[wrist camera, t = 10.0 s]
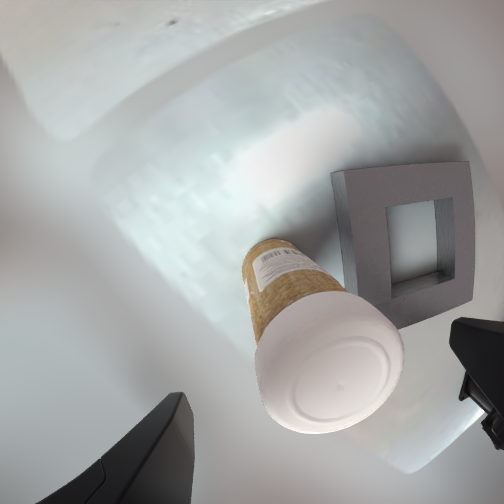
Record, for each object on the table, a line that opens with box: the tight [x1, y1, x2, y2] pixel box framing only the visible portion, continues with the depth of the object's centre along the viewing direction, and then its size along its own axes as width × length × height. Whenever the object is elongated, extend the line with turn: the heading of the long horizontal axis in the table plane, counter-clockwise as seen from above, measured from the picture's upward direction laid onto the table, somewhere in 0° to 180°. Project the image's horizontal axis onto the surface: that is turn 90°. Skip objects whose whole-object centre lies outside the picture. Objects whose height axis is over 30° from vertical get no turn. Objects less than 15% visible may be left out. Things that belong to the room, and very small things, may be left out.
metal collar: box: [330, 161, 475, 330], centre depth 19 cm, size 12×12×2 cm
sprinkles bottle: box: [242, 239, 404, 434], centre depth 14 cm, size 5×5×13 cm
